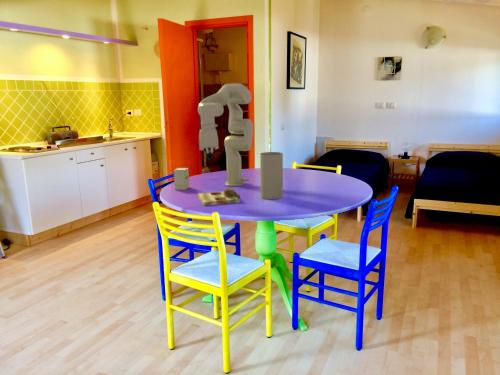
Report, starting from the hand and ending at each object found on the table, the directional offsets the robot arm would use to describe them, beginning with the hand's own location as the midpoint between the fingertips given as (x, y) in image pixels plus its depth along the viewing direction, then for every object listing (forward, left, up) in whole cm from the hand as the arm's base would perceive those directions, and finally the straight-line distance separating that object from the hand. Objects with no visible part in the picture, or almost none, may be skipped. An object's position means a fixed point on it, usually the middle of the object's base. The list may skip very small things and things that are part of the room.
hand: (209, 159), depth 231 cm
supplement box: (+13, -30, -22) cm, 40 cm away
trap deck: (-3, +5, -22) cm, 23 cm away
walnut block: (-9, +5, -20) cm, 23 cm away
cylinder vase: (-33, +10, -22) cm, 41 cm away
